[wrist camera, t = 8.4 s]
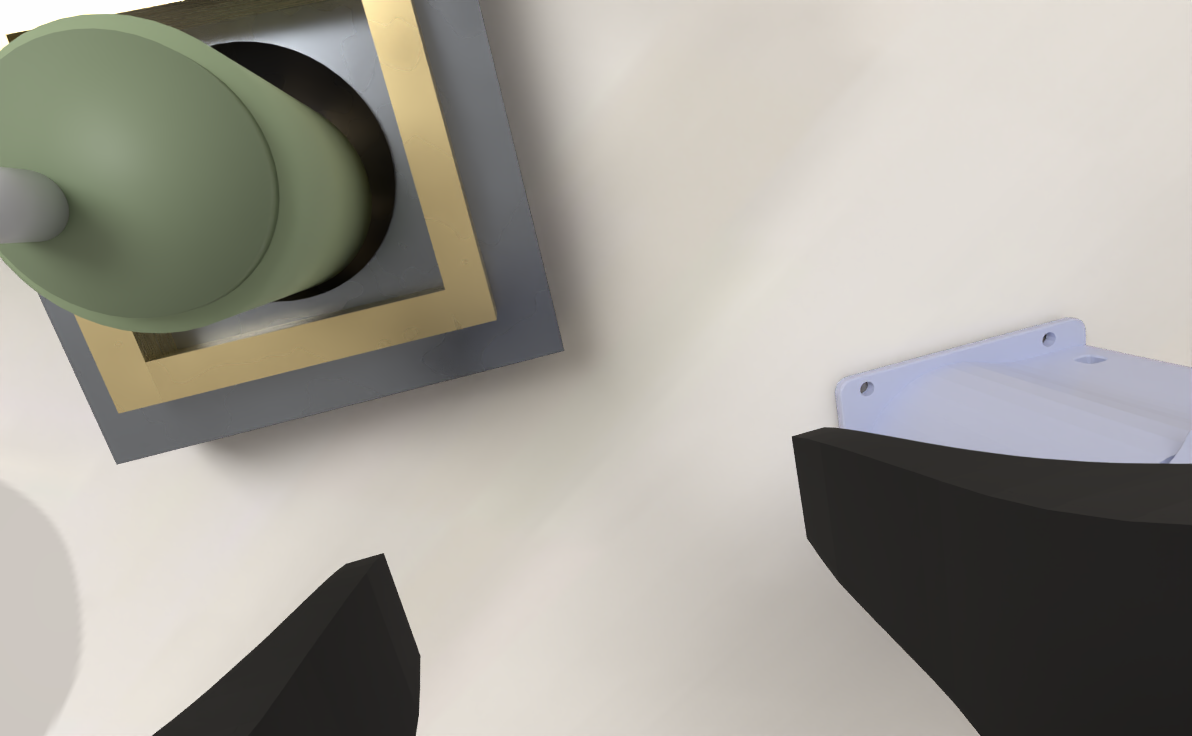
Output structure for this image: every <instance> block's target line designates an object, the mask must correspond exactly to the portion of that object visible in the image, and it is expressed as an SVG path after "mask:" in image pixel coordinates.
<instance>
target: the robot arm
mask: <svg viewBox="0 0 1192 736" xmlns="http://www.w3.org/2000/svg"><path fill="white" fill-rule="evenodd" d="M1045 334H1046V340H1045V341H1044V342H1042V340H1043V337H1044V335H1045ZM865 382H867V383H868V387H867V389H866V391H865V392H863V393H861V392H860V388H861V386H862V384H863V383H865ZM835 396H836V403H837V411H838V419H839V426H840V428H827V427H824V428H820V429H817V430H813V431H810V432H806V433H803V434H799V435H796V436H792V441H793V448H794V455H795V462H796V468H797V475H798V482H799V488H800V495H801V502H802V509H803V515H804V522H805V529H806V535H807V539H808V540H809V542H810V543H811V545H812V546H813V548H814V549H815V550H816V552H817V553H818V555H819V556H820V557H821V559H822V560H823V562H824V563H825V564H826V566H827V567H828V568H829V570H830V571H831V572H832V574H833V575H834V576H835V578H836V579H837V580H838V582H839V583H840V584H841V585H842V586H843V587H844V588H845V589H846V590H847V591H848V593H849V594H850V595H851V596H852V597H853V598H854V599H855V600H856V601H857V602H858V603H859V604H860V605H861V606H862V607H863V608H864V609H865V610H866V611H867V612H868V613H869V615H870V616H871V617H872V618H873V619H874V620H875V621H876V622H877V623H878V624H879V625H880V626H881V627H882V628H883V629H884V630H885V631H886V632H887V633H888V634H889V635H890V636H891V637H892V638H893V639H894V640H895V641H896V642H897V643H898V644H899V645H900V646H901V647H902V648H903V649H904V650H905V652H906V653H907V654H908V655H909V656H910V657H911V658H912V659H913V660H914V661H915V662H916V663H917V664H918V665H919V666H920V667H921V668H922V669H923V670H924V671H925V672H926V673H927V674H928V675H929V676H930V677H931V678H932V679H933V680H934V681H935V682H936V684H937V685H938V686H939V687H940V688H941V689H942V690H943V691H944V692H945V694H946V695H947V696H948V697H949V698H950V699H951V700H952V701H953V702H954V704H955V705H956V706H957V707H958V708H959V709H960V711H961V712H962V713H963V714H964V716H965V717H966V718H967V719H968V721H969V722H970V723H971V724H972V726H973V727H974V728H975V729H976V731H977V732H978V733H979V734H980V736H1192V367H1187V366H1182V365H1178V364H1173V363H1168V362H1164V361H1159V360H1154V359H1149V358H1145V357H1140V356H1135V355H1130V354H1126V353H1121V352H1116V351H1112V350H1107V349H1102V348H1097V347H1093V346H1088V345H1086V333H1085V325H1084V323H1083V322H1082V321H1081V320H1079V319H1076V318H1063V319H1059V320H1055V321H1051V322H1048V323H1044V324H1040V325H1037V326H1033V327H1029V328H1025V329H1022V330H1018V331H1014V332H1011V333H1007V334H1003V335H999V336H996V337H992V338H988V339H985V340H981V341H977V342H973V343H970V344H966V345H962V346H959V347H955V348H951V349H947V350H944V351H940V352H936V353H933V354H929V355H925V356H921V357H918V358H914V359H910V360H907V361H903V362H899V363H896V364H892V365H888V366H884V367H881V368H877V369H873V370H870V371H866V372H862V373H858V374H855V375H851V376H847V377H845V378H843V379H841V380H840V381H839V382H838V384H837V386H836V389H835ZM419 697H420V654H419V651H418V648H417V645H416V643H415V640H414V637H413V634H412V631H411V629H410V626H409V623H408V620H407V617H406V615H405V612H404V609H403V606H402V603H401V601H400V598H399V595H398V592H397V589H396V586H395V584H394V581H393V578H392V575H391V572H390V570H389V567H388V564H387V561H386V558H385V556H384V553H382V554H379V555H375V556H372V557H368V558H365V559H361V560H358V561H354V562H351V563H347V564H345V565H344V566H343V567H341V568H340V569H339V570H337V571H336V572H335V573H334V574H333V575H332V576H330V577H329V578H328V579H327V580H326V581H325V582H324V583H323V584H322V585H321V586H320V587H318V588H317V589H316V590H315V591H314V592H313V593H312V594H311V595H310V596H309V597H308V598H307V599H306V600H305V601H304V602H303V603H302V604H301V605H300V606H299V607H298V608H297V609H296V610H295V611H294V612H293V613H291V614H290V615H289V616H288V617H287V618H286V619H285V620H284V621H283V622H282V623H281V624H280V625H279V626H278V627H277V628H276V629H275V630H274V631H273V632H272V633H271V634H270V635H269V636H268V637H267V638H265V639H264V640H263V641H262V642H261V643H260V644H259V645H258V646H257V647H256V648H255V649H253V650H252V651H251V652H250V653H249V654H248V655H247V656H246V657H245V658H243V659H242V660H241V661H240V662H239V663H238V664H237V665H236V666H235V667H233V668H232V669H231V670H230V671H229V672H228V673H227V674H226V675H225V676H223V677H222V678H221V679H220V680H219V681H218V682H217V683H216V684H215V685H213V686H212V687H211V688H210V689H209V690H208V691H207V692H206V693H204V694H203V695H202V696H201V697H200V698H198V699H197V700H196V701H195V702H194V703H192V704H191V705H190V706H189V707H188V708H186V709H185V710H184V711H183V712H181V713H180V714H179V715H178V716H177V717H175V718H174V719H173V720H172V721H170V722H169V723H168V724H166V725H165V726H164V727H163V728H161V729H160V730H159V731H157V732H156V733H155V734H154V735H152V736H416V730H417V723H418V717H419Z"/></svg>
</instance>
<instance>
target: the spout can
mask: <svg viewBox="0 0 1192 736" xmlns="http://www.w3.org/2000/svg"><path fill="white" fill-rule="evenodd" d="M371 213H372V195H371V189H370V183H369V180H368V176H367V173H366V170H365V168H364V165H363V163H362V161H361V158H360V157H359V155H358V153H357V152H356V150H355V148H354V147H353V145H352V144H351V143H350V141H349V140H348V139H347V137H346V136H345V135H344V134H343V133H342V132H341V131H340V130H339V129H338V128H337V127H336V126H335V125H334V124H333V123H331V122H330V121H329V120H328V119H327V118H325V117H324V116H322V115H321V114H319V113H318V112H316V111H314V110H313V109H311V108H310V107H308V106H306V105H305V104H303V103H301V102H300V101H298V100H297V99H295V98H293V97H292V96H290V95H288V94H287V93H285V92H283V91H282V90H280V89H279V88H277V87H275V86H274V85H272V84H270V83H269V82H267V81H265V80H264V79H262V78H261V77H259V76H257V75H256V74H254V73H252V72H251V71H249V70H247V69H246V68H244V67H243V66H241V65H239V64H238V63H236V62H234V61H233V60H231V59H230V58H228V57H226V56H225V55H223V54H221V53H220V52H218V51H216V50H215V49H213V48H212V47H210V46H208V45H207V44H205V43H203V42H202V41H200V40H198V39H196V38H194V37H192V36H190V35H188V34H186V33H184V32H182V31H180V30H178V29H176V28H173V27H170V26H167V25H164V24H161V23H159V22H156V21H152V20H148V19H143V18H139V17H134V16H129V15H119V14H108V13H104V14H82V15H76V16H71V17H65V18H60V19H57V20H54V21H51V22H48V23H45V24H42V25H39V26H37V27H35V28H33V29H31V30H29V31H28V32H26V33H24V34H22V35H20V36H19V37H17V38H16V39H14V40H13V41H12V42H10V43H9V44H8V45H6V46H5V47H3V48H2V49H1V50H0V257H1V258H2V260H3V261H4V262H5V263H6V264H7V265H8V266H9V267H10V268H11V269H12V270H13V271H14V272H15V273H16V274H17V275H18V276H19V277H20V278H21V279H22V280H23V281H24V282H25V283H26V284H28V285H29V286H30V287H31V288H33V289H34V290H35V291H36V292H38V293H39V294H40V295H42V296H43V297H45V298H46V299H48V300H50V301H51V302H53V303H54V304H56V305H57V306H59V307H61V308H63V309H65V310H67V311H69V312H71V313H73V314H75V315H77V316H79V317H81V318H84V319H87V320H89V321H92V322H95V323H97V324H100V325H104V326H108V327H112V328H116V329H120V330H126V331H133V332H140V333H172V332H182V331H188V330H192V329H196V328H201V327H205V326H207V325H210V324H213V323H216V322H218V321H221V320H224V319H227V318H229V317H232V316H235V315H237V314H240V313H243V312H246V311H248V310H251V309H254V308H257V307H259V306H262V305H265V304H267V303H270V302H273V301H276V300H278V299H281V298H284V297H287V296H289V295H292V294H295V293H297V292H300V291H303V290H306V289H308V288H311V287H314V286H317V285H319V284H322V283H324V282H326V281H327V280H329V279H331V278H333V277H334V276H336V275H337V274H338V273H340V272H341V271H342V270H343V269H344V268H345V267H347V266H348V265H349V264H350V263H351V261H352V260H353V259H354V257H355V256H356V255H357V254H358V252H359V250H360V248H361V247H362V245H363V243H364V241H365V238H366V236H367V233H368V230H369V225H370V221H371Z"/></svg>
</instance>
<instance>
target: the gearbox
mask: <svg viewBox="0 0 1192 736" xmlns="http://www.w3.org/2000/svg"><path fill="white" fill-rule="evenodd" d="M104 13H108V14H119V15H129V16H134V17H139V18H143V19H148V20H152V21H156V22H159V23H161V24H164V25H167V26H170V27H173V28H176V29H178V30H180V31H182V32H184V33H186V34H188V35H190V36H192V37H194V38H196V39H198V40H200V41H202V42H203V43H205V44H207V45H208V46H210V47H212V48H213V49H215V50H216V51H218V52H220V53H221V54H223V55H225V56H226V57H228V58H230V59H231V60H233V61H234V62H236V63H238V64H239V65H241V66H243V67H244V68H246V69H247V70H249V71H251V72H252V73H254V74H256V75H257V76H259V77H261V78H262V79H264V80H265V81H267V82H269V83H270V84H272V85H274V86H275V87H277V88H279V89H280V90H282V91H283V92H285V93H287V94H288V95H290V96H292V97H293V98H295V99H297V100H298V101H300V102H301V103H303V104H305V105H306V106H308V107H310V108H311V109H313V110H314V111H316V112H318V113H319V114H321V115H322V116H324V117H325V118H327V119H328V120H329V121H330V122H331V123H333V124H334V125H335V126H336V127H337V128H338V129H339V130H340V131H341V132H342V133H343V134H344V135H345V136H346V137H347V139H348V140H349V141H350V143H351V144H352V145H353V147H354V148H355V150H356V152H357V153H358V155H359V157H360V158H361V161H362V163H363V165H364V168H365V170H366V173H367V176H368V180H369V183H370V189H371V195H372V213H371V221H370V225H369V230H368V233H367V236H366V238H365V241H364V243H363V245H362V247H361V248H360V250H359V252H358V254H357V255H356V256H355V257H354V259H353V260H352V261H351V263H350V264H349V265H348V266H347V267H345V268H344V269H343V270H342V271H341V272H340V273H338V274H337V275H336V276H334V277H333V278H331V279H329V280H327V281H326V282H324V283H322V284H319V285H317V286H314V287H311V288H308V289H306V290H303V291H300V292H297V293H295V294H292V295H289V296H287V297H284V298H281V299H278V300H276V301H273V302H270V303H267V304H265V305H262V306H259V307H257V308H254V309H251V310H248V311H246V312H243V313H240V314H237V315H235V316H232V317H229V318H227V319H224V320H221V321H218V322H216V323H213V324H210V325H207V326H205V327H201V328H196V329H192V330H188V331H182V332H172V333H140V332H133V331H126V330H120V329H116V328H112V327H108V326H104V325H100V324H97V323H95V322H92V321H89V320H87V319H84V318H81V317H79V316H77V315H75V314H73V313H71V312H69V311H67V310H65V309H63V308H61V307H59V306H57V305H56V304H54V303H53V302H51V301H50V300H48V299H46V298H45V297H43V296H42V295H40V294H39V293H38V294H39V297H40V299H41V301H42V303H43V305H44V307H45V310H46V312H47V314H48V316H49V318H50V320H51V323H52V325H53V327H54V329H55V331H56V334H57V336H58V338H59V340H60V342H61V344H62V347H63V349H64V351H65V353H66V355H67V357H68V360H69V362H70V364H71V366H72V368H73V370H74V373H75V375H76V377H77V379H78V381H79V384H80V386H81V388H82V390H83V392H84V394H85V397H86V399H87V401H88V403H89V405H90V407H91V410H92V412H93V414H94V416H95V418H96V421H97V423H98V425H99V427H100V429H101V431H102V434H103V436H104V438H105V440H106V442H107V444H108V447H109V449H110V451H111V453H112V455H113V458H114V460H115V462H116V464H121V463H125V462H129V461H133V460H137V459H141V458H144V457H148V456H152V455H156V454H160V453H164V452H168V451H172V450H176V449H180V448H184V447H188V446H192V445H196V444H199V443H203V442H207V441H211V440H215V439H219V438H223V437H227V436H231V435H235V434H239V433H243V432H247V431H251V430H255V429H258V428H262V427H266V426H270V425H274V424H278V423H282V422H286V421H290V420H294V419H298V418H302V417H306V416H310V415H313V414H317V413H321V412H325V411H329V410H333V409H337V408H341V407H345V406H349V405H353V404H357V403H361V402H365V401H369V400H372V399H376V398H380V397H384V396H388V395H392V394H396V393H400V392H404V391H408V390H412V389H416V388H420V387H424V386H427V385H431V384H435V383H439V382H443V381H447V380H451V379H455V378H459V377H463V376H467V375H471V374H475V373H479V372H483V371H486V370H490V369H494V368H498V367H502V366H506V365H510V364H514V363H518V362H522V361H526V360H530V359H534V358H538V357H542V356H545V355H549V354H553V353H557V352H561V351H564V348H563V344H562V339H561V335H560V331H559V327H558V323H557V319H556V315H555V311H554V307H553V303H552V299H551V295H550V290H549V286H548V282H547V278H546V274H545V270H544V266H543V262H542V258H541V254H540V250H539V246H538V241H537V237H536V233H535V229H534V225H533V221H532V217H531V213H530V209H529V205H528V201H527V197H526V192H525V188H524V184H523V180H522V176H521V172H520V168H519V164H518V160H517V156H516V152H515V148H514V143H513V139H512V135H511V131H510V127H509V123H508V119H507V115H506V111H505V107H504V103H503V99H502V95H501V90H500V86H499V82H498V78H497V74H496V70H495V66H494V62H493V58H492V54H491V50H490V46H489V41H488V37H487V33H486V29H485V25H484V21H483V17H482V13H481V9H480V5H479V1H478V0H0V50H1V49H2V48H3V47H5V46H6V45H8V44H9V43H10V42H12V41H13V40H14V39H16V38H17V37H19V36H20V35H22V34H24V33H26V32H28V31H29V30H31V29H33V28H35V27H37V26H39V25H42V24H45V23H48V22H51V21H54V20H57V19H60V18H65V17H71V16H76V15H82V14H104Z"/></svg>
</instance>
